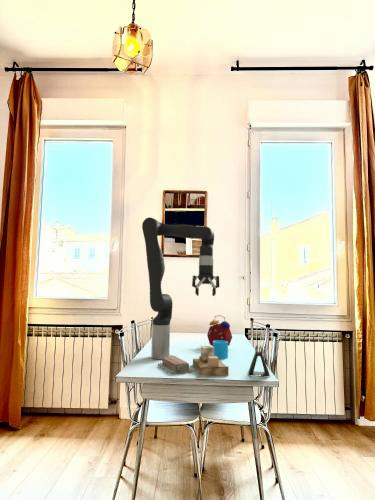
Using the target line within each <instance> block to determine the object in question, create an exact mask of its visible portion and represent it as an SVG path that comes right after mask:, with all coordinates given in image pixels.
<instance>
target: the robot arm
mask: <svg viewBox="0 0 375 500" xmlns="http://www.w3.org/2000/svg"><path fill="white" fill-rule="evenodd" d="M141 228H142V234H143V238H144V244H145V252H146V262H147V264H146V265H147V271H148V272H147V273H148V281H149V283H148V284H149V304H150V308H151V310H152V311H153V312H156V313H157V314H156V316H155V317H154V318H152V331H151V333H152V338H151V354H150V355H151V359H154V360H162V359H163V358H165V357H167V356H170V347H171V346H170V344H171V343H170V342H171V341H170V340H171V339H170V337H171V335H170V334H171V320H172V316H173V298H172V296H171V295H170V294H169V293H163V292H162V291H163V290H162V281H163V277H164V274H165V272H166V271H165V270H166V266H165V258H164V254H163V252H162V248H161V247H160V244H159V243H160V242H159V238H158V236H162V237H163V236H168V237H169V236H171V237H179V238H184V239H199V240H201V245H200V246H199V259H198V275H192V282H191V287H193V288H194V289H195V291H194V293H195V295H196V296H199V294H200V293H199V290H200V289H199V288H200V287H201V285H210V286H211V289H212V291H211V292H212V293H211V295H212V297H215V296H216V294H217V293H216V291H217V288H220V276H219V275H214V242H215V232H214V230H213V229H212V228H211V227H210V226H209V227H208V226H204V225H190V224H168V223H163V222H160V221H158V220H157V219H156V218H153V217H146V218H145V219H144V220H143V221H142V224H141ZM197 280H198V282H197V283H196V281H197ZM214 280H215V283H214V282H213V281H214Z"/></svg>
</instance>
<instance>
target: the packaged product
mask: <svg viewBox="0 0 375 500" xmlns="http://www.w3.org/2000/svg"><path fill="white" fill-rule="evenodd" d="M157 365H158V366H159V367H160V368H162V367H163V369H164V370H165V371H167V372H168V373H170V374H171V375H179V374H180V375H181V374H188V373H193V368H191V367H190V366H189V365H190V364H189V363H188V362H187V361H185V360H183V359H182V358H179V357H177V356H175V355H170V354H169V356H167V357H165V358H163V359H161V362H160V363H159V362H158V363H157Z"/></svg>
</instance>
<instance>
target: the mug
mask: <svg viewBox="0 0 375 500" xmlns="http://www.w3.org/2000/svg"><path fill="white" fill-rule="evenodd" d="M212 347H214V356H217V357H218V358H219V360H226V359H228V358H229V346H228V341H222V340H216V341H213V346H212Z"/></svg>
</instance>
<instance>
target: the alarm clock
mask: <svg viewBox="0 0 375 500" xmlns="http://www.w3.org/2000/svg"><path fill="white" fill-rule="evenodd" d="M217 317H222V318H223V321H222V322H221V323H220V322H219V321H220V320H219V319H218V320H216V318H217ZM225 319H226V317H225V316H223V315H220V314H219V315H215V316H214V319H212V321H210V322H209V328H208V332H207V334H206V336H207V339H208V344H209V346H212V347H213V341H216V340H222V341H228V347H229V346H230V345H231V341H232V340H233V335H232V332H231V326H230V325H231V324H230V323H229V322H228V321H227V320H225Z"/></svg>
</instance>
